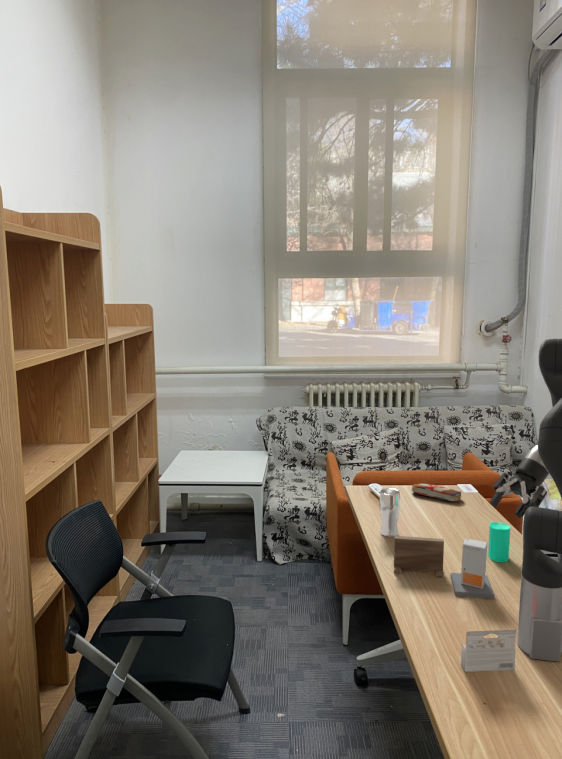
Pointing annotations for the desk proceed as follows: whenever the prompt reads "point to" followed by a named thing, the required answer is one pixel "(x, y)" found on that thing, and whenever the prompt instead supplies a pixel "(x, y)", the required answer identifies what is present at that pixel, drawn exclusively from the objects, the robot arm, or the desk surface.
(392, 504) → the beer glass
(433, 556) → the walnut screen
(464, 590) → the grey mat
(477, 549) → the skincare box
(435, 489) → the paperback book
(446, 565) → the desk surface
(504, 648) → the ink cartridge box
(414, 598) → the desk surface
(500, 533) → the candle
